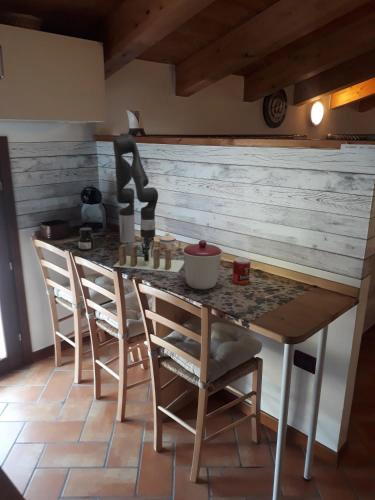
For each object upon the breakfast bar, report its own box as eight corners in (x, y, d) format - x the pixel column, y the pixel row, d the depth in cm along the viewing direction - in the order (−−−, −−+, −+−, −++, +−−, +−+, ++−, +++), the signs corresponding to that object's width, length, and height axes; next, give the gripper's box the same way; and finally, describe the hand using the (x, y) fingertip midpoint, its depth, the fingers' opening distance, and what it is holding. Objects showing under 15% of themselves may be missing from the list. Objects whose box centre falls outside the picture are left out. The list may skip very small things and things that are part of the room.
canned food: (238, 286, 175) (240, 263, 172) (228, 280, 182) (230, 258, 179) (252, 283, 179) (254, 260, 175) (242, 278, 185) (243, 256, 182)
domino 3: (148, 261, 204) (147, 243, 201) (151, 262, 204) (151, 243, 201) (145, 264, 199) (144, 246, 197) (148, 265, 199) (148, 246, 196)
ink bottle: (75, 249, 225) (73, 229, 221) (84, 245, 233) (83, 226, 229) (89, 251, 221) (87, 231, 218) (98, 248, 229) (97, 228, 226)
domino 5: (167, 266, 198) (167, 247, 195) (171, 267, 197) (171, 248, 194) (165, 269, 193) (165, 250, 190) (168, 270, 193) (168, 250, 190)
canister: (229, 285, 175) (231, 240, 169) (203, 296, 163) (205, 248, 157) (199, 275, 187) (200, 233, 181) (172, 285, 174) (173, 240, 169)
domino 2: (134, 263, 201) (133, 245, 198) (137, 264, 201) (137, 245, 198) (130, 266, 196) (130, 247, 194) (134, 267, 196) (133, 248, 193)
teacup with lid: (156, 253, 221) (156, 233, 218) (167, 250, 227) (167, 230, 224) (170, 257, 213) (170, 237, 210) (182, 254, 220) (182, 234, 216)
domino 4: (156, 265, 199) (156, 247, 196) (159, 266, 198) (159, 247, 196) (153, 268, 194) (153, 249, 191) (156, 269, 194) (156, 250, 191)
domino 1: (123, 262, 202) (122, 244, 199) (126, 263, 202) (125, 244, 199) (119, 265, 198) (118, 246, 195) (122, 266, 197) (122, 247, 194)
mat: (125, 256, 214) (125, 255, 214) (185, 261, 208) (185, 260, 208) (112, 266, 197) (112, 266, 197) (177, 272, 190) (177, 272, 190)
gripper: (145, 224, 204) (145, 255, 208) (136, 230, 190) (136, 263, 195) (158, 225, 202) (158, 256, 207) (150, 231, 189) (151, 264, 193)
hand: (148, 259), depth 201 cm, fingers closed on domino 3, 5 cm apart
